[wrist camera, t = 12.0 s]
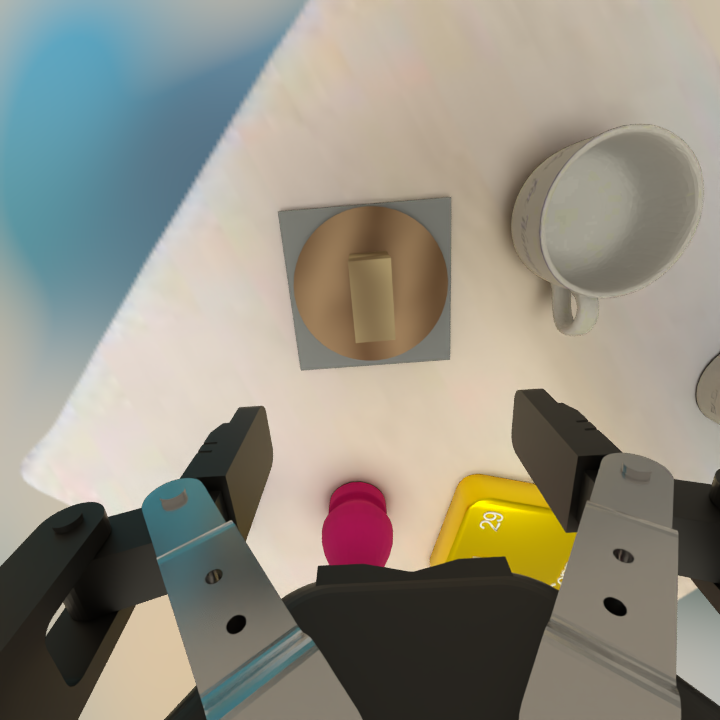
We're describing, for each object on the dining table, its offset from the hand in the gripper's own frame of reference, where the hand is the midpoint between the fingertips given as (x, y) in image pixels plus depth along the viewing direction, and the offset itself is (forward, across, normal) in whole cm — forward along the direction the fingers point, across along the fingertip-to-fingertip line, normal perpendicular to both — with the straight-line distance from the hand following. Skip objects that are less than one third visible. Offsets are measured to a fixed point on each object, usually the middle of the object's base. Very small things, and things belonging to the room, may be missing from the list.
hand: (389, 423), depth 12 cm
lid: (+23, 0, 0) cm, 23 cm away
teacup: (+24, -16, -3) cm, 29 cm away
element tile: (+24, -14, +30) cm, 41 cm away
